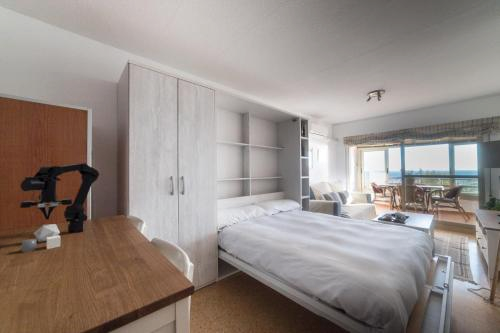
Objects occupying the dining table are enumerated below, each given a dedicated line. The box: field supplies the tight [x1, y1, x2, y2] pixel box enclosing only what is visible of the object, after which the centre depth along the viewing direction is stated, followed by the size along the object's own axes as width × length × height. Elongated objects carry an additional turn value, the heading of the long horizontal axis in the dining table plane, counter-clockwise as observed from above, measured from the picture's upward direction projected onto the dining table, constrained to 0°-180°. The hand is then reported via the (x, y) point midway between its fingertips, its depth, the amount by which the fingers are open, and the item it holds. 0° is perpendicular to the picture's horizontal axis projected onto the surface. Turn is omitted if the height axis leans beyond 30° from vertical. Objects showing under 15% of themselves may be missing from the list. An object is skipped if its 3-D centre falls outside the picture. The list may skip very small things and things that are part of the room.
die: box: [33, 223, 61, 243], centre depth 105 cm, size 8×9×10 cm
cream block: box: [46, 234, 62, 250], centre depth 96 cm, size 4×4×4 cm
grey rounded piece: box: [21, 238, 38, 253], centre depth 91 cm, size 4×4×4 cm
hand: (47, 219), depth 105 cm, fingers closed
